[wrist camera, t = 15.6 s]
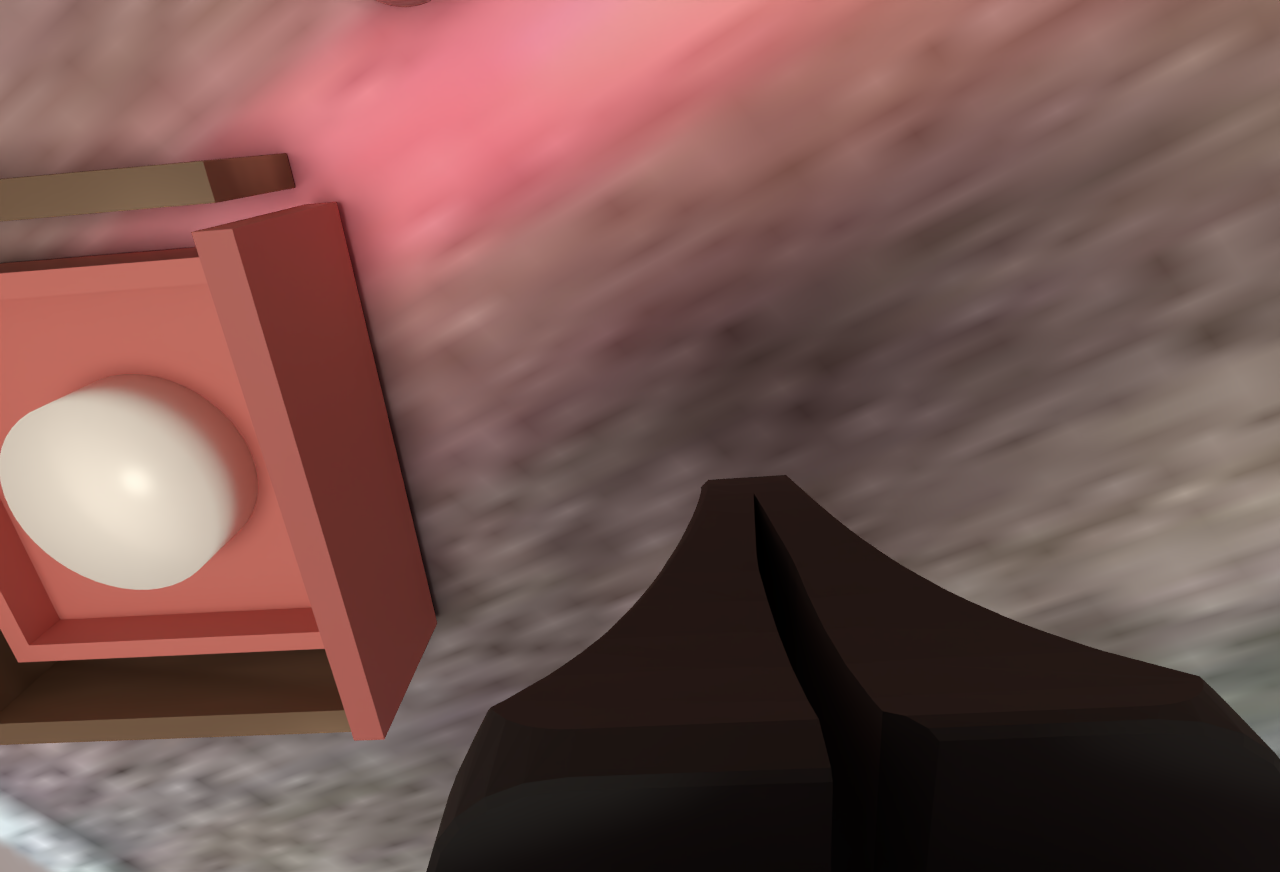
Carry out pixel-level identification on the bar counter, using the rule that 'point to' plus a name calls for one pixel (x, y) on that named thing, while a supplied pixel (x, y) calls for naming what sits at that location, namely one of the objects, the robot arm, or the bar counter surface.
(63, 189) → the cabinet
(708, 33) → the bar counter surface
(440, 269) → the bar counter surface
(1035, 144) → the bar counter surface
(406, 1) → the cylinder
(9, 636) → the drawer
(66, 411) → the white dome
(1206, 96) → the bar counter surface
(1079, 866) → the robot arm
